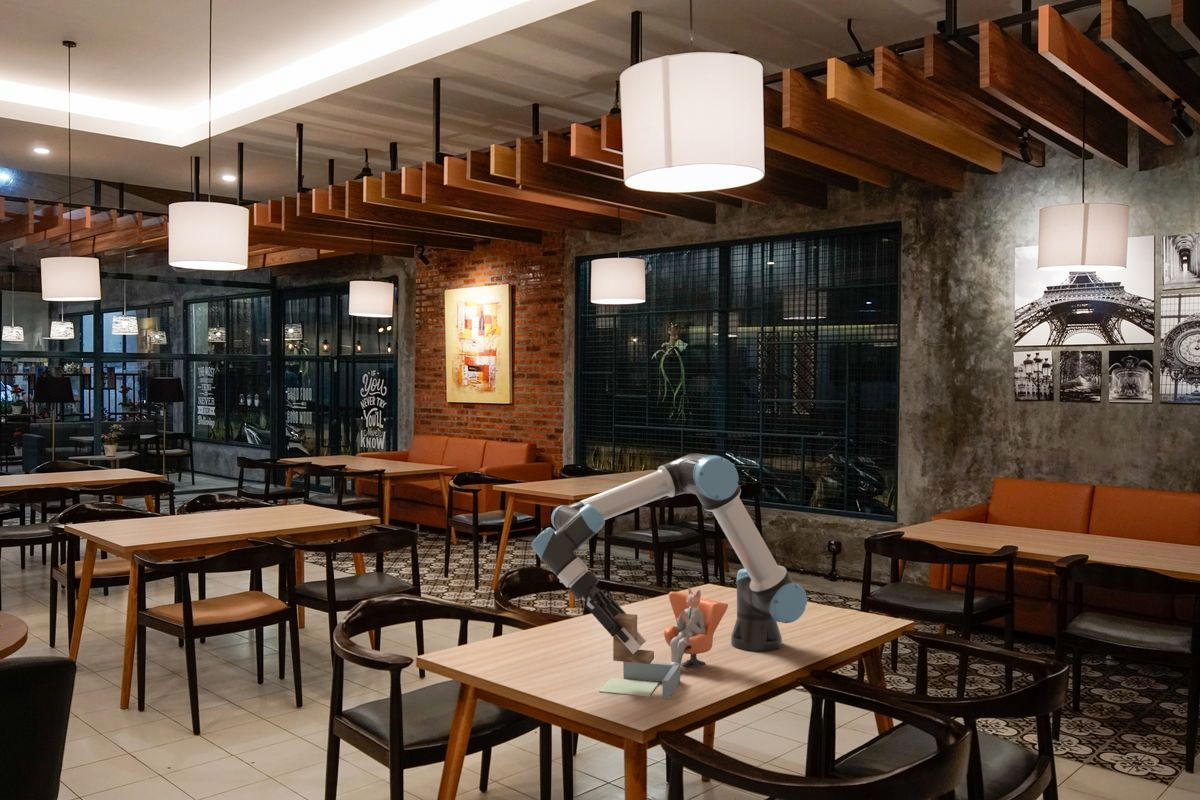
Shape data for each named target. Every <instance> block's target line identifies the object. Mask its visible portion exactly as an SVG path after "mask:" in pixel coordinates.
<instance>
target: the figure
mask: <svg viewBox="0 0 1200 800" xmlns="http://www.w3.org/2000/svg"><path fill="white" fill-rule="evenodd" d="M687 589H688V593H684V592H679V591H670V592H669V593H668V600H669V603H670V606H671V608H672V611H673V615H674V617H675V621H676V625H671V626H667V627H666V628H665V629H664V630H663V636H664V637H663V638H664V639H665V642H666V644H667V645H668V646H669V647H670V654H671V656H670V657H671V658H670V659H671V660H670V661H671V662H670V664H680V670H681V669H682V667H689V666H693V668H694V669H700V668H701V666H702V665H703V666H704V665H706V662H705V661H703V660H700V659H698V658H697V655H698V654H703V653H707V652H710V651H711V649H712V648H713V639H714V634H715V632H716V630H717V629H718V626H719V624H720V622H721V621H722V619H723V617H724V616H725V614H726V612H727V610H728V606H729V604H728V603H727V602H721V601H716V600H712V599H707V598H705V597H702V593H701V589H699V590H696V592H695V594H694V593H693V591H692V589H691V587H688V588H687ZM684 654H685V655H690V658H689V659H687V660H686V661H684V662H682V660H683V657H684Z"/></svg>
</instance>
